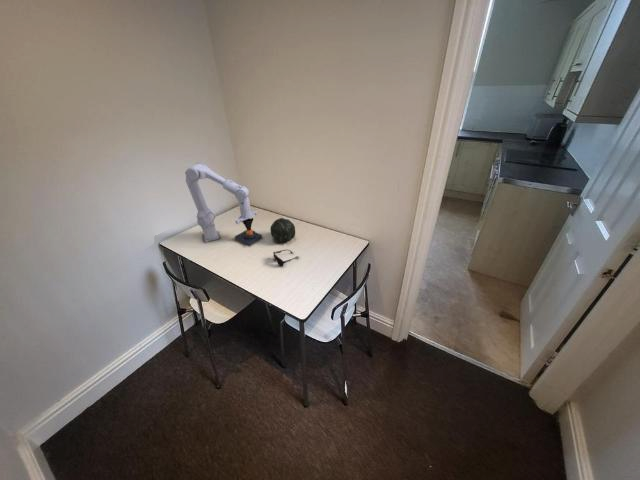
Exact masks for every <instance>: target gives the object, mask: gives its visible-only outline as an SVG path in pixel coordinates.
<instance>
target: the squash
mask: <svg viewBox="0 0 640 480" xmlns="http://www.w3.org/2000/svg"><path fill="white" fill-rule="evenodd" d="M269 229H270V235H271V237H272V238H273V240H274V241H275V242H276V243H278V242H280V243H285V242H287V243H288V242H290V241H291V240H293V239H294V238H295V237H296V226H295V224H294V223H293V222H292V221H291V220H290V219H287V218H284V217H279V218H277V219H276V220H274V221H273V222H272V224H271V225H270V227H269Z"/></svg>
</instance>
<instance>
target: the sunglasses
mask: <svg viewBox="0 0 640 480" xmlns="http://www.w3.org/2000/svg"><path fill="white" fill-rule="evenodd" d="M284 251H286V252H287V249H283V250H282V249H281V250H278V251H277V250H276V251H273V252H272V254H273V258H274V261H275V262H276V263H277V264H278V265H279V266H280V267H283V266H284V264H286V263H289V262H291V261H292V260H295V259H298V258H299V257H298V256H295V257H292V258H290V259H286V260H283V259H282V258H280V257H279V256H278V255H276V254H279V253H282V252H284ZM288 251H289V252H290V253H291V254H293V252H292V251H291V250H290V249H288Z"/></svg>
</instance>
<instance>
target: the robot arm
mask: <svg viewBox="0 0 640 480" xmlns="http://www.w3.org/2000/svg"><path fill="white" fill-rule="evenodd" d="M184 174H185V183H186V185H187V189H188V191H189V192H190V195H191V198H192V200H193V202H194V205H195V207H196V210H197V213H196V219H197V225H198V226H199V227H201V229H202V232H203V240H204V242H205V243H207V242H211V241H216V240H220V236H219V233H218V231H217V228H216V225H215V219H216V215H215V213H214V212H213V211H212V209H211V208H209V207H208V204H207V202H206V200H205V197H204V194H203V191H202V188H201V187H200V184H199V181H200V180H204V179H208V180H211V181H213V182H215V183H216V184H219V185H221V186H222V188H223V189H224V190H225V191H227V192H229V193H230V194H232V195H234V196H235V198H236V199H237V201H238V206H239V211H240V216H238V217H237V218H236V219H235V220H234V221H235V224H237V225H239V224H240V223H242V224H243V225H244V227H245V230H249V231H250V230H252V225H253V222H254V218H253V217H254V216H257V215H258V210H253V211H252V208H251V204H250V203H251V202H250V198H249V194H250V189H249V188H248V187H247V186H246V185H241V184H238V183H237V182H234V180H233V179H225V178H224V177H222V176H221V175H220V174H218V173H217V172H215V171H213V170H212V169H210V168H209V166H208V165H206V164H204V163H203V162H196V163H195V164H194V165H192V166H190V167H188V168H187V169H186V170H185V172H184Z"/></svg>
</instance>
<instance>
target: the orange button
mask: <svg viewBox="0 0 640 480" xmlns="http://www.w3.org/2000/svg"><path fill="white" fill-rule="evenodd" d="M245 230H246V235H252V234H253V231H254V230H253V229H251V230H250V231H249V230H247V229H245Z"/></svg>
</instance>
